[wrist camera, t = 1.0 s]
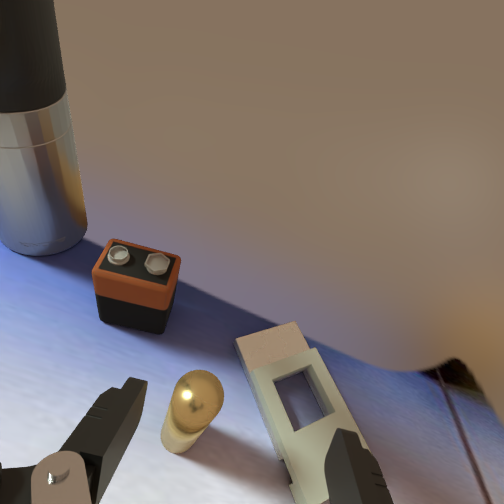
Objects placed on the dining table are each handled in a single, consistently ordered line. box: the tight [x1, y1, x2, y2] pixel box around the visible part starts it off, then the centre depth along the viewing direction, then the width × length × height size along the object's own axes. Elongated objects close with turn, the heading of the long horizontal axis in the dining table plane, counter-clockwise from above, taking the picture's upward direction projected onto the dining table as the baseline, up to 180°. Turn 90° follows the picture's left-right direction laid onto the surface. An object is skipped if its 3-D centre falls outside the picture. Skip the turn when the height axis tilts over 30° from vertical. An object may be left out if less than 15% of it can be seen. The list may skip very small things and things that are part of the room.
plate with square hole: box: [250, 347, 372, 504], centre depth 32 cm, size 12×8×2 cm, turn 24°
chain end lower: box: [233, 321, 330, 460], centre depth 34 cm, size 12×8×1 cm, turn 24°
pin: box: [161, 370, 224, 454], centre depth 24 cm, size 3×3×12 cm
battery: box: [92, 239, 181, 334], centre depth 31 cm, size 4×7×10 cm, turn 84°
